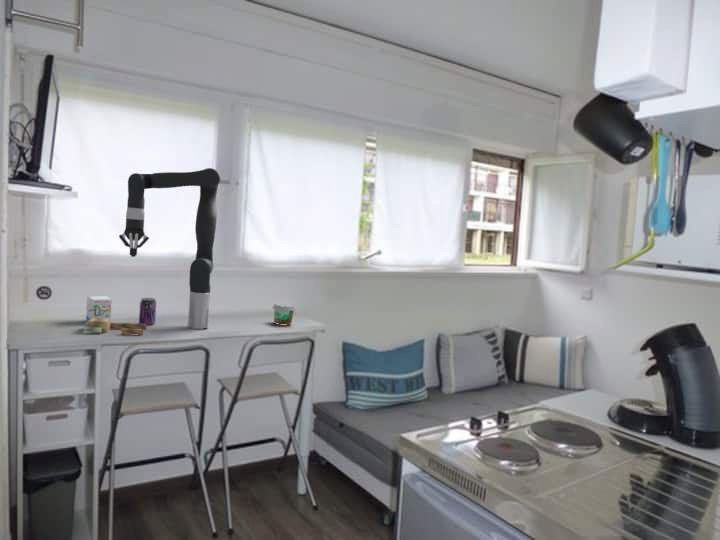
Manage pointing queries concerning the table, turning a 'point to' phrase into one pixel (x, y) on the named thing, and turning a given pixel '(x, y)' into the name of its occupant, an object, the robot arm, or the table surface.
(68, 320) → the table surface
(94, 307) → the ink box
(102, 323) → the block
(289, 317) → the food container
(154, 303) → the beverage can
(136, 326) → the channel
